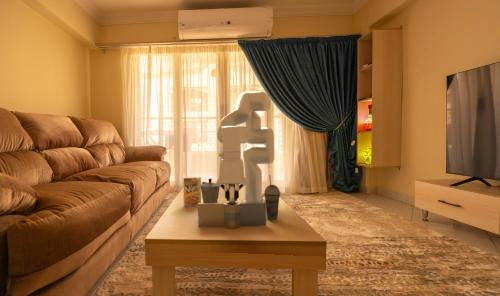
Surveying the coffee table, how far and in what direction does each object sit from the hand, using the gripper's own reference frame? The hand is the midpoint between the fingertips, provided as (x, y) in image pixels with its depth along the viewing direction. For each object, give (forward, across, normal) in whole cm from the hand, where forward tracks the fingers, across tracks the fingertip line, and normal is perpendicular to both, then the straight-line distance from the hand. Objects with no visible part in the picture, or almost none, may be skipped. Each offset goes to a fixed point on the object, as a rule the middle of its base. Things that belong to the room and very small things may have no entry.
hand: (232, 199), depth 112 cm
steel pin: (+4, 0, 0) cm, 4 cm away
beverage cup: (+11, +18, +9) cm, 23 cm away
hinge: (+11, 0, 0) cm, 11 cm away
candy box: (+11, -23, +36) cm, 45 cm away
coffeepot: (+11, -11, +15) cm, 22 cm away
